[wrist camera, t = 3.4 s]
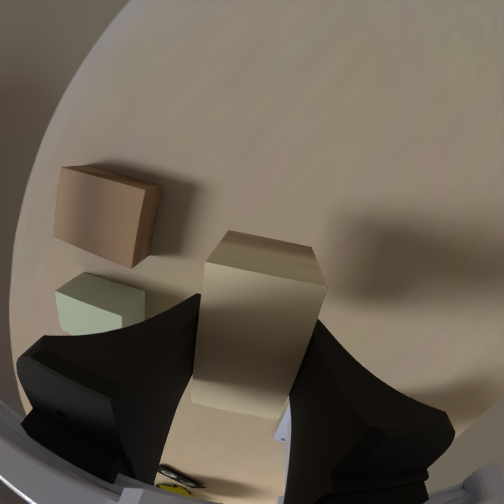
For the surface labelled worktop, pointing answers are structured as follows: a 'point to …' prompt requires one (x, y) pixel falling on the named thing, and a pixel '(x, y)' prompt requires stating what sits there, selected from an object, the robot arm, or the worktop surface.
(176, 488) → the toy
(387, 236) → the worktop surface
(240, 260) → the maple brick
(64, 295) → the sage brick
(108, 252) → the walnut slab
